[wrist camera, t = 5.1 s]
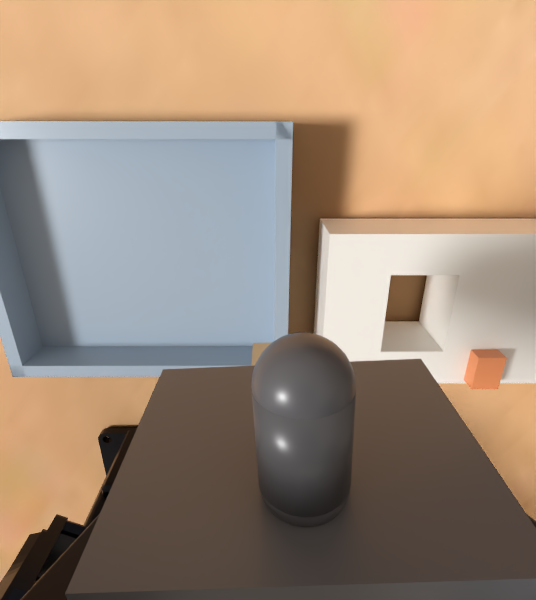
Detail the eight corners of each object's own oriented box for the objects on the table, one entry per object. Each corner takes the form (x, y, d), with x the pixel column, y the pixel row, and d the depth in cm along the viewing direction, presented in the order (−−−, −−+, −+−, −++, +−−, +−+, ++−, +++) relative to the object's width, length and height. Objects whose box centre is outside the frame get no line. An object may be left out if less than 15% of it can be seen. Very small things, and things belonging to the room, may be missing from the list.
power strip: (611, 349, 21) (752, 437, 15) (312, 350, 21) (332, 438, 15) (686, 167, 17) (914, 185, 11) (322, 167, 17) (353, 185, 11)
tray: (284, 350, 21) (286, 376, 18) (40, 350, 20) (12, 376, 18) (289, 123, 16) (293, 121, 14) (-22, 122, 16) (-68, 120, 14)
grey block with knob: (369, 446, 11) (480, 786, 5) (209, 452, 11) (150, 794, 5) (387, 216, 8) (644, 398, 3) (178, 226, 8) (-9, 424, 3)
